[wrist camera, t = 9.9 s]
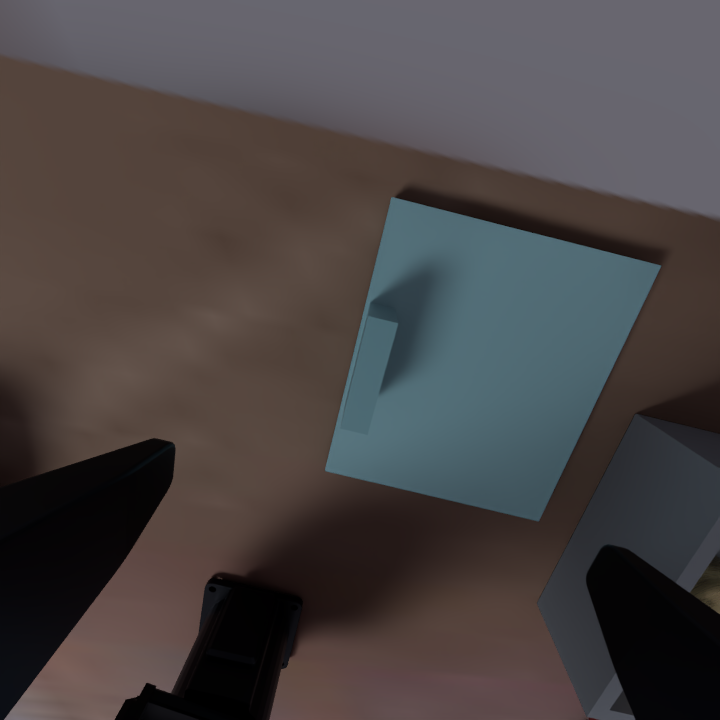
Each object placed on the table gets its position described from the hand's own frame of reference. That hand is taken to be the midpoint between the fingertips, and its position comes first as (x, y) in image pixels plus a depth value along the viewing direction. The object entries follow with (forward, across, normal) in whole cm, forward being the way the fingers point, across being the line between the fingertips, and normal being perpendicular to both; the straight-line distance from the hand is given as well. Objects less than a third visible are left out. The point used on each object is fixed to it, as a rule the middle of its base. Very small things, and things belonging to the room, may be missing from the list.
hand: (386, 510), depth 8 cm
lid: (+13, -5, 0) cm, 13 cm away
